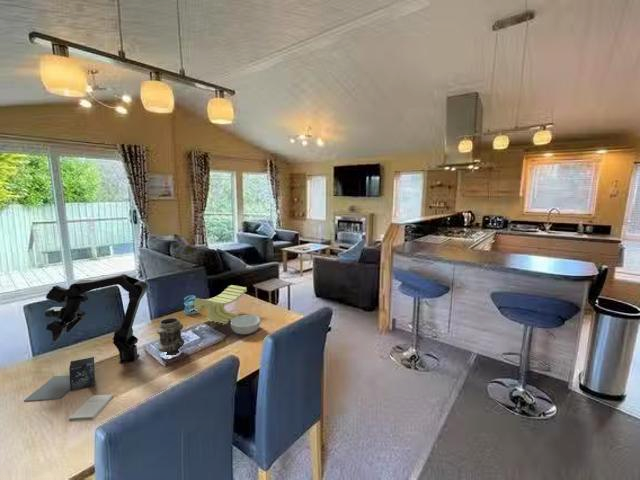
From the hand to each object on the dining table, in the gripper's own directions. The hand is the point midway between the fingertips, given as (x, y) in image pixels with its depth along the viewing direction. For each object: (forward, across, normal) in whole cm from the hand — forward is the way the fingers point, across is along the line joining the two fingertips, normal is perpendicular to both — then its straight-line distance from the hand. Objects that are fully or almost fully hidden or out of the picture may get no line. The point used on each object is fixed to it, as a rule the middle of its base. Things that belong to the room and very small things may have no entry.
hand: (60, 336), depth 142 cm
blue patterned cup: (-5, -56, +46) cm, 72 cm away
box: (+5, +20, +23) cm, 31 cm away
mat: (+9, +20, +14) cm, 26 cm away
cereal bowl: (-20, -22, +81) cm, 86 cm away
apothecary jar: (-7, -1, +49) cm, 50 cm away
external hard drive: (+1, +36, +33) cm, 49 cm away
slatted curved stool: (-14, -43, +66) cm, 80 cm away
